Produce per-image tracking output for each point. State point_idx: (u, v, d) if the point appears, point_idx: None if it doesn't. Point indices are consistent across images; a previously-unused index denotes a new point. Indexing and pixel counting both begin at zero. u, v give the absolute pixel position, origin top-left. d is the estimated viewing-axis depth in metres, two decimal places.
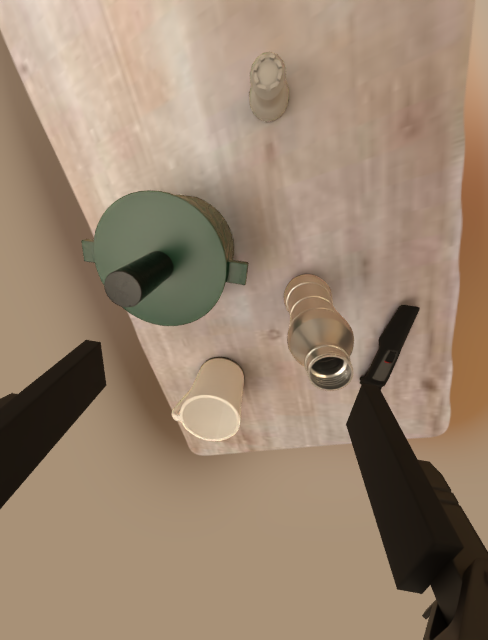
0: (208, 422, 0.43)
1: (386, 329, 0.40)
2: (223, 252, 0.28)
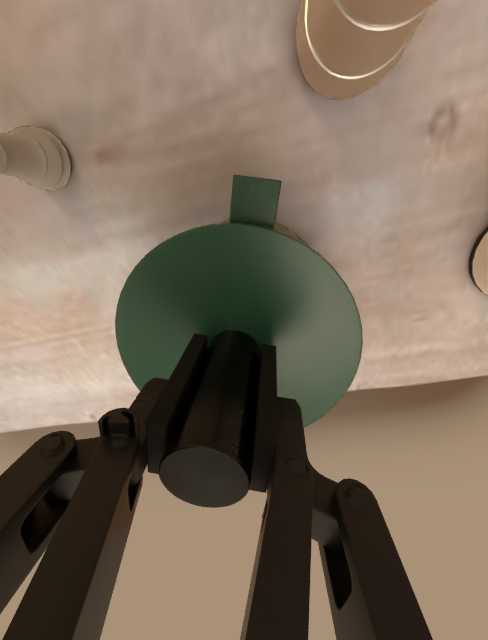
0: None
1: None
2: (200, 229, 0.14)
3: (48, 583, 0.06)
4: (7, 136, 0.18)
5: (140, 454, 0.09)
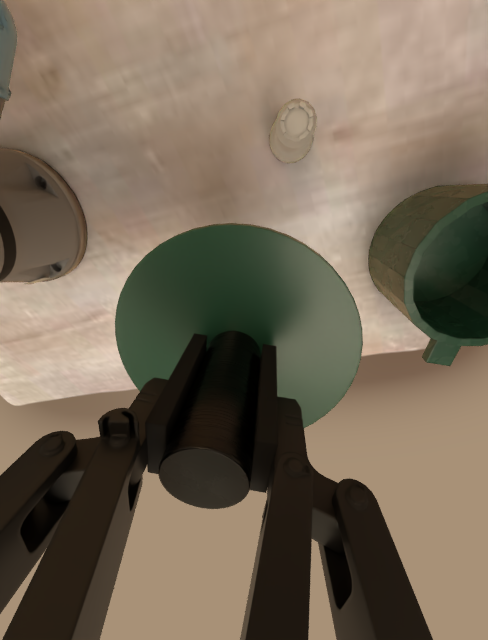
0: None
1: None
2: (200, 229, 0.13)
3: (48, 583, 0.06)
4: None
5: (140, 454, 0.09)
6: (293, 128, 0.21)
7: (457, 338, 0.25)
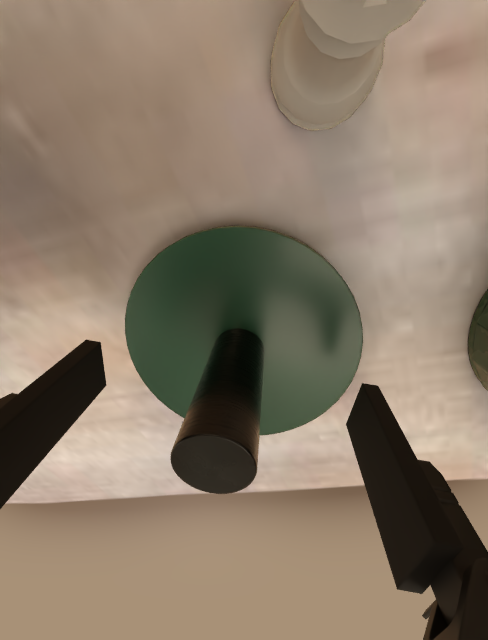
0: None
1: None
2: (208, 231, 0.14)
3: None
4: None
5: None
6: None
7: None
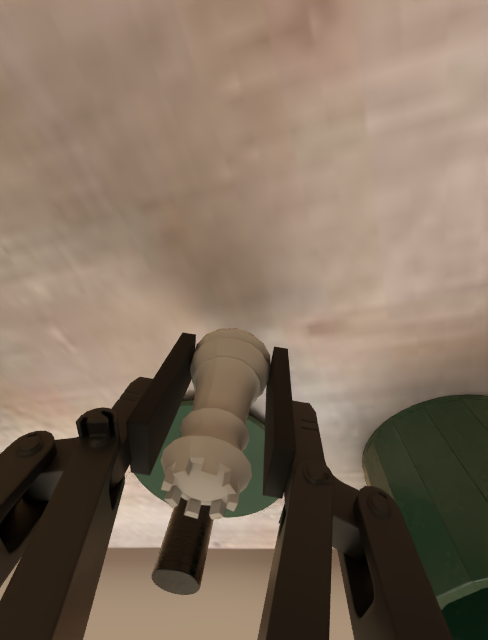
0: None
1: None
2: (181, 406, 0.22)
3: (26, 585, 0.06)
4: (234, 390, 0.12)
5: (121, 453, 0.09)
6: (196, 494, 0.09)
7: None
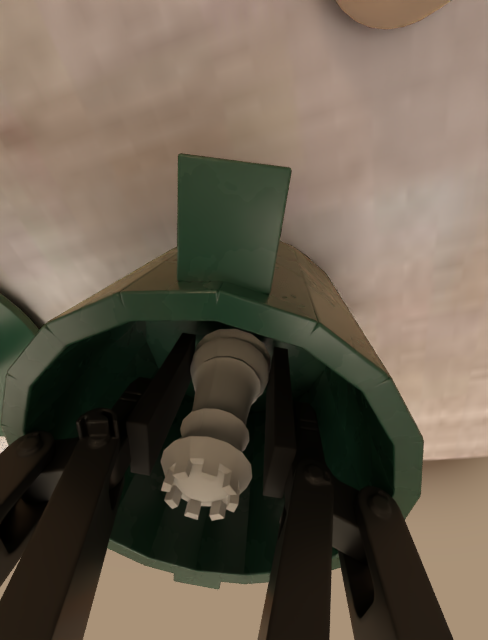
0: None
1: None
2: None
3: (26, 585, 0.06)
4: (234, 391, 0.12)
5: (121, 453, 0.09)
6: (196, 494, 0.09)
7: (193, 570, 0.12)
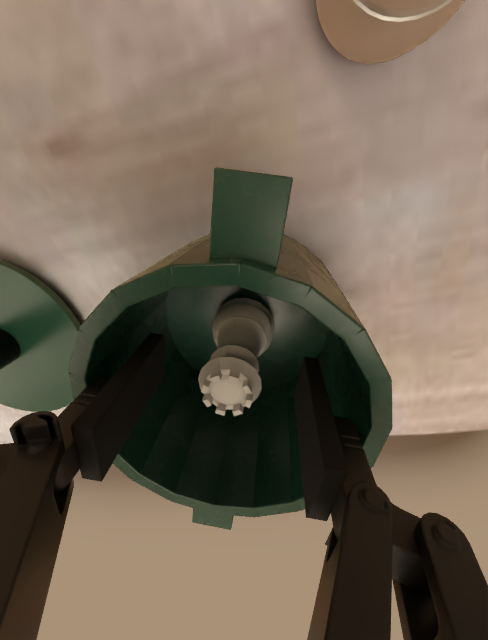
0: None
1: None
2: None
3: None
4: (247, 338, 0.16)
5: (66, 456, 0.09)
6: (223, 398, 0.13)
7: (211, 504, 0.14)
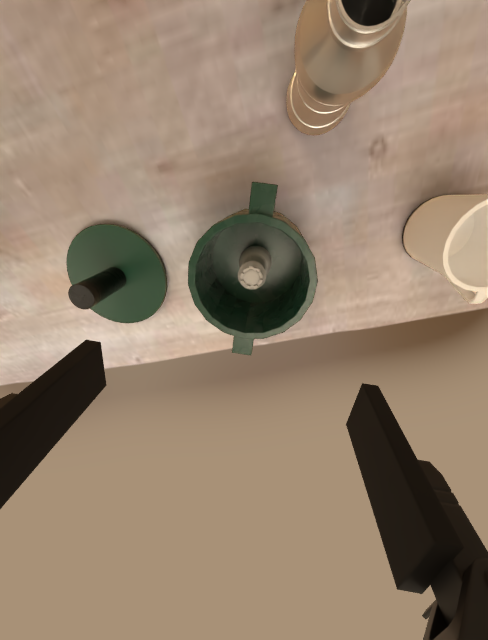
0: None
1: None
2: (94, 226, 0.37)
3: None
4: (259, 260, 0.33)
5: None
6: (249, 280, 0.31)
7: (243, 332, 0.32)
